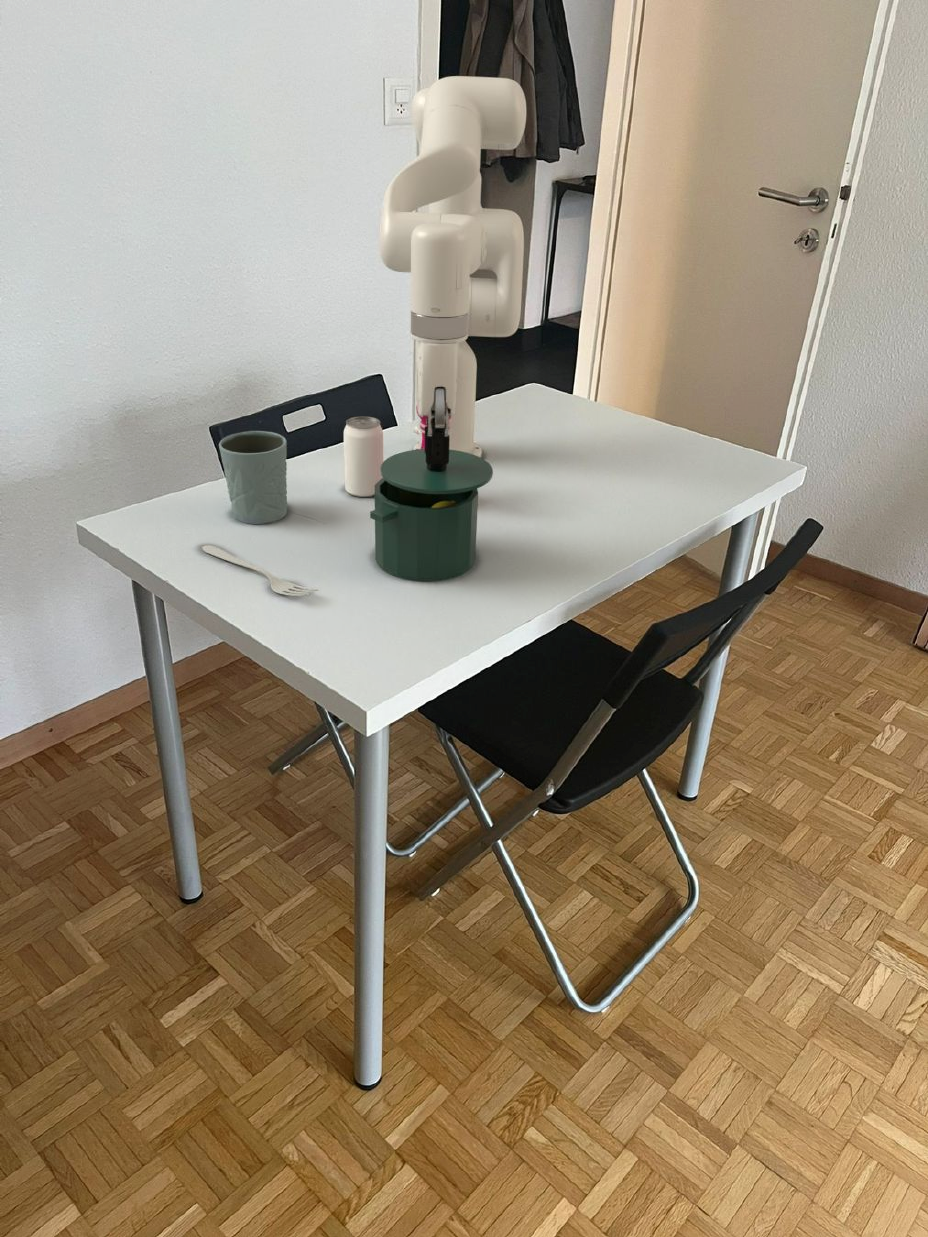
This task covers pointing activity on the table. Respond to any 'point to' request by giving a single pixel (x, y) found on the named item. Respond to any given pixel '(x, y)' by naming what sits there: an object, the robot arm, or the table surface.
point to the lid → (436, 472)
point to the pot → (424, 533)
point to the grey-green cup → (256, 475)
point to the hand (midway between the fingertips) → (436, 457)
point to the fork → (276, 583)
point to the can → (362, 455)
